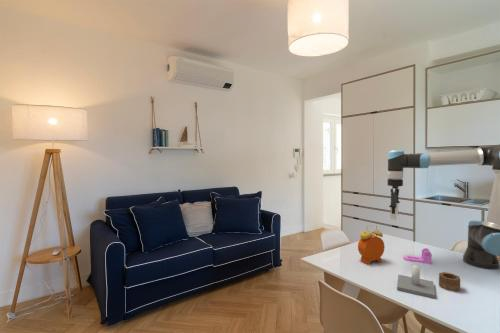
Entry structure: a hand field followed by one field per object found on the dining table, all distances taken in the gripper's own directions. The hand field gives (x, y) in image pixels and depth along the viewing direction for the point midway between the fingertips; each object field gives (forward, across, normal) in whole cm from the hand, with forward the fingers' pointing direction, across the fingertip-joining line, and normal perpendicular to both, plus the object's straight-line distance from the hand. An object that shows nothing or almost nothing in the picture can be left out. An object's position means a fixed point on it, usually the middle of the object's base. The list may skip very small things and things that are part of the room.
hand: (394, 217), depth 151 cm
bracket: (+25, -7, +11) cm, 28 cm away
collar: (+25, +20, +24) cm, 40 cm away
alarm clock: (+25, +7, -11) cm, 28 cm away
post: (+25, +28, +11) cm, 39 cm away
